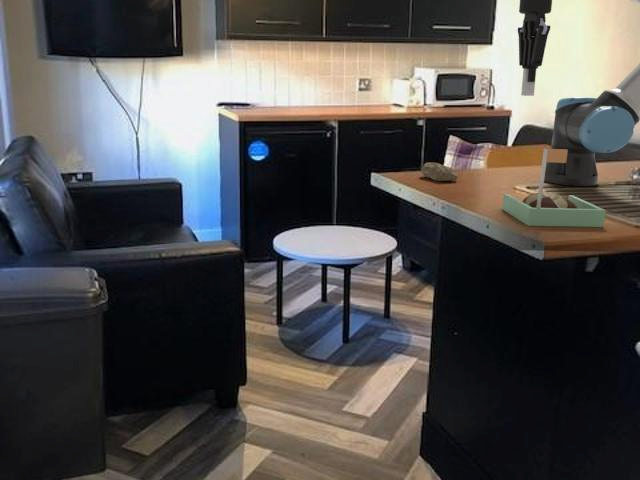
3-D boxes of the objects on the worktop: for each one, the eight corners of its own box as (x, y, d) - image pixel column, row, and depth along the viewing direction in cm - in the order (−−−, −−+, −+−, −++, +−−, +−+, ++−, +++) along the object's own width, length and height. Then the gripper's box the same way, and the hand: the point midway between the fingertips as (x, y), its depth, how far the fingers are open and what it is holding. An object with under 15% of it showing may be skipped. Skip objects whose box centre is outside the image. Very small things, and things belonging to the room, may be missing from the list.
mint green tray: (570, 210, 153) (580, 141, 149) (603, 227, 139) (614, 151, 135) (502, 209, 152) (510, 139, 148) (527, 225, 138) (537, 148, 133)
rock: (440, 184, 181) (441, 167, 180) (415, 176, 191) (416, 161, 189) (462, 182, 185) (464, 166, 183) (437, 175, 194) (438, 160, 193)
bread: (514, 210, 152) (516, 188, 151) (564, 212, 152) (567, 190, 151) (530, 222, 141) (533, 199, 140) (584, 224, 142) (588, 201, 140)
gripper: (510, -2, 171) (502, 94, 177) (534, -7, 158) (525, 97, 165) (538, -2, 172) (529, 94, 178) (564, -6, 160) (553, 97, 166)
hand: (527, 95), depth 171 cm, fingers closed
